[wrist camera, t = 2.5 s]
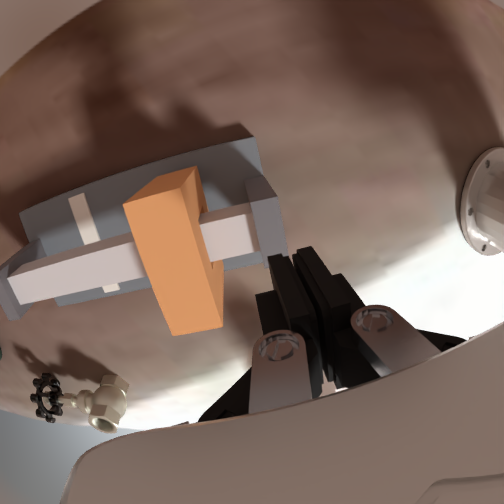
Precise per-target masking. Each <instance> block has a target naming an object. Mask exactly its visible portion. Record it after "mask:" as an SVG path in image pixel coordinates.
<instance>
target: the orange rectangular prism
mask: <svg viewBox="0 0 504 504" xmlns="http://www.w3.org/2000/svg"><path fill="white" fill-rule="evenodd" d="M123 207H124V210H125V213H126V216H127V219H128V222H129V225H130V228H131V231H132V234H133V237H134V240H135V243H136V245H137V248H138V251H139V254H140V256H141V259H142V262H143V264H144V267H145V270H146V272H147V275H148V278H149V280H150V283H151V285H152V288H153V290H154V293H155V295H156V298H157V300H158V302H159V305H160V307H161V310H162V312H163V314H164V317H165V319H166V321H167V324H168V326H169V328H170V330H171V333H172V335H173V336H176V335H182V334H188V333H193V332H199V331H204V330H209V329H215V328H220V327H223V278H224V265H223V261H222V260H217V261H213V262H210V259H209V256H208V252H207V249H206V246H205V242H204V239H203V235H202V232H201V228H200V225H199V221H198V219H199V216H200V214H201V213H205V212H209V210H208V206H207V202H206V198H205V195H204V191H203V187H202V183H201V179H200V175H199V171H198V168H197V166H193V167H189V168H186V169H182V170H178V171H175V172H171V173H168V174H164V175H161V176H157V177H156V178H155V179H153V180H152V181H151V182H149V183H148V184H147V185H146V186H144V187H143V188H142V189H141V190H139V191H138V192H137V193H136V194H134V195H133V196H132V197H131V198H129V199H128V200H127V201H126V202H125V203H123Z"/></svg>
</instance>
